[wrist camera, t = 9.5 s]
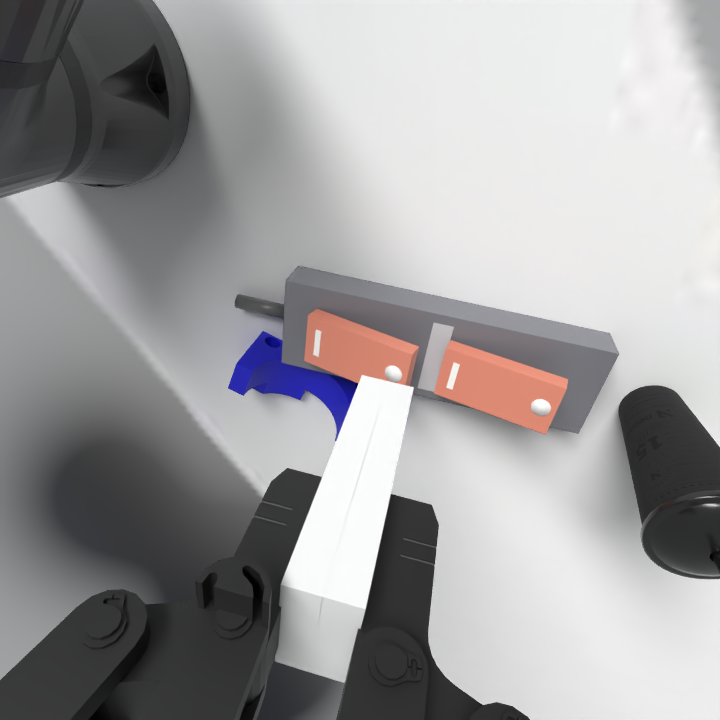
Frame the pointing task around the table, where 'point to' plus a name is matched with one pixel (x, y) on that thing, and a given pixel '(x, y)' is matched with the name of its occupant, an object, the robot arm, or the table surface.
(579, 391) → the power strip
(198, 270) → the table surface
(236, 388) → the cable clip
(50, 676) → the robot arm
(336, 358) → the rocker
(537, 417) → the rocker
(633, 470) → the drinking cup
